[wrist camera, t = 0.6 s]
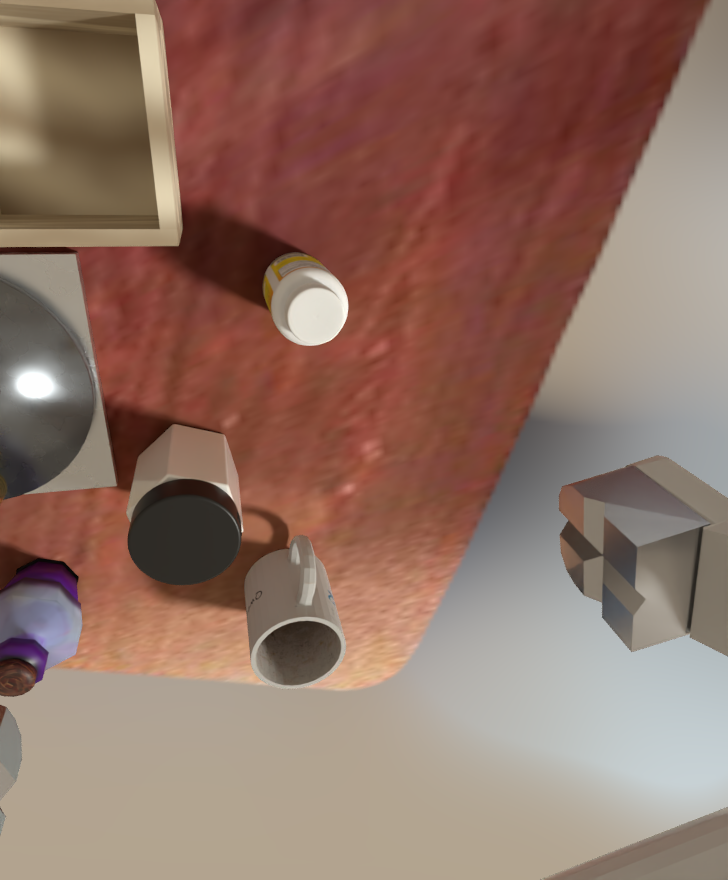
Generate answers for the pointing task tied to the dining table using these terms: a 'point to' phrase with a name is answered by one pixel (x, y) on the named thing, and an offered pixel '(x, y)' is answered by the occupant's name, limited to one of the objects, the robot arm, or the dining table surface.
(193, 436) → the jar
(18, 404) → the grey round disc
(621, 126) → the dining table surface
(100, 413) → the base
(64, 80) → the open wooden box
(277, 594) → the mug
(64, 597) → the potion bottle
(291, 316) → the supplement bottle
